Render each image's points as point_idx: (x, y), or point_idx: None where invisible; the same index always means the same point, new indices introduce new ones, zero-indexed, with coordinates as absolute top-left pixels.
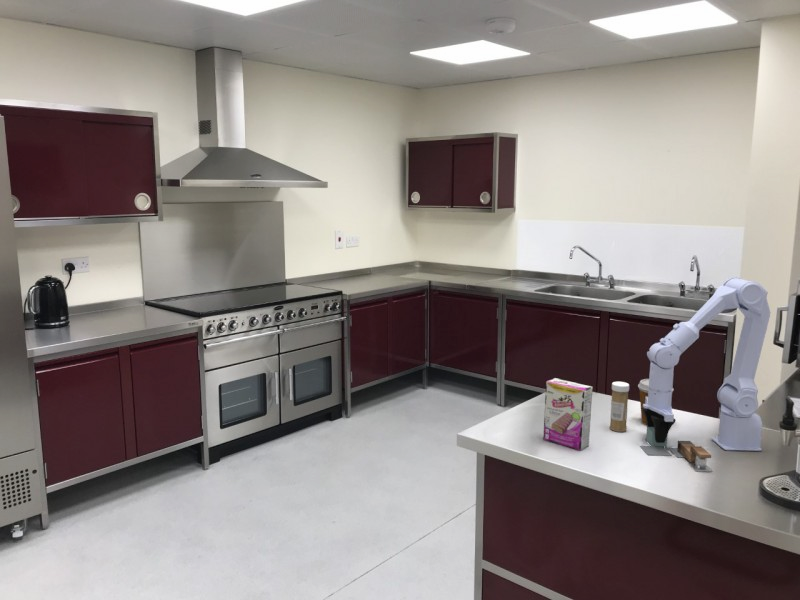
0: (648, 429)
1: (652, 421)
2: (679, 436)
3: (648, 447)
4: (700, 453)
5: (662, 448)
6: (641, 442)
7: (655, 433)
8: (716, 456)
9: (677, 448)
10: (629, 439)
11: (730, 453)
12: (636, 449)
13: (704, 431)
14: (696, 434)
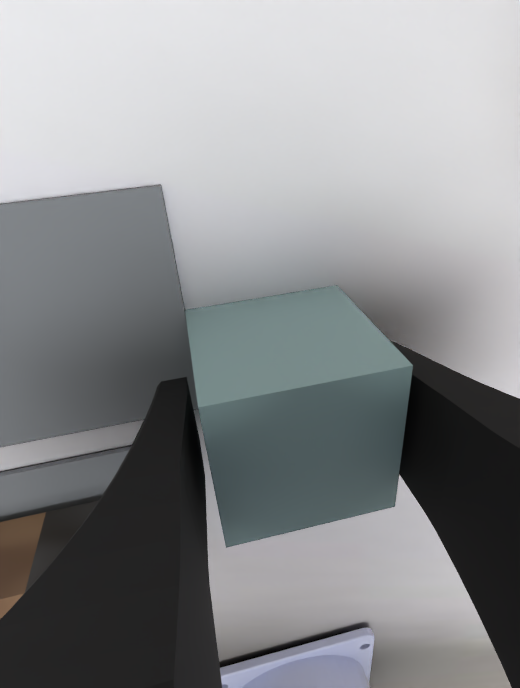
0: (342, 370)
1: (462, 475)
2: (420, 510)
3: (124, 276)
4: None
5: (136, 398)
6: (286, 232)
7: (153, 439)
8: None
9: None
10: (370, 104)
11: None
12: (26, 111)
13: None
14: (441, 575)
